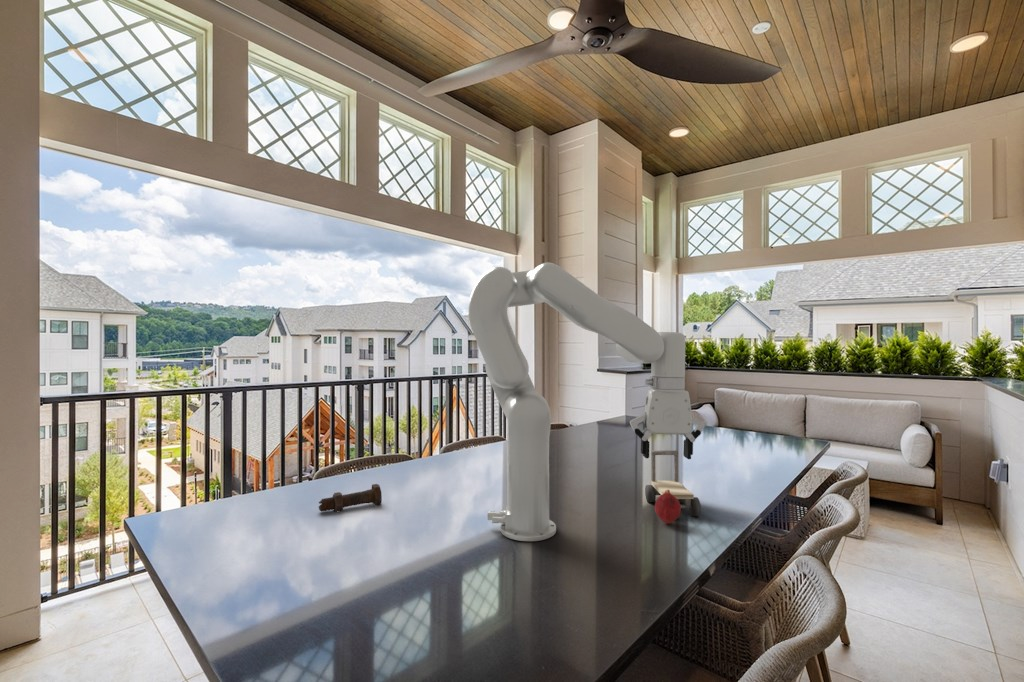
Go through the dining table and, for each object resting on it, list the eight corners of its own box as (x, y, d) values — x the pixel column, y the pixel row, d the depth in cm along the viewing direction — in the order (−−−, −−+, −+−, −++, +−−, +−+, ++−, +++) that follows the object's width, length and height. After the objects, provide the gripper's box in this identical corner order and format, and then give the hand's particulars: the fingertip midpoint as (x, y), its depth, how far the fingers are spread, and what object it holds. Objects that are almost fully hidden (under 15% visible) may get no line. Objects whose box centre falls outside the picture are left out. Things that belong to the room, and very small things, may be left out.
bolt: (319, 519, 119) (379, 507, 126) (321, 515, 115) (383, 503, 123) (317, 496, 122) (375, 486, 129) (318, 491, 118) (379, 481, 125)
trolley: (700, 518, 114) (700, 462, 114) (660, 518, 114) (660, 462, 114) (680, 499, 128) (680, 449, 128) (645, 499, 128) (644, 449, 129)
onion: (684, 528, 108) (684, 493, 108) (659, 528, 108) (658, 493, 108) (676, 519, 114) (675, 486, 114) (652, 519, 114) (651, 486, 114)
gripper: (634, 385, 107) (633, 460, 107) (711, 386, 107) (710, 462, 107) (627, 382, 115) (625, 453, 115) (698, 384, 115) (697, 454, 114)
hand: (666, 457), depth 111 cm, fingers open, 9 cm apart
